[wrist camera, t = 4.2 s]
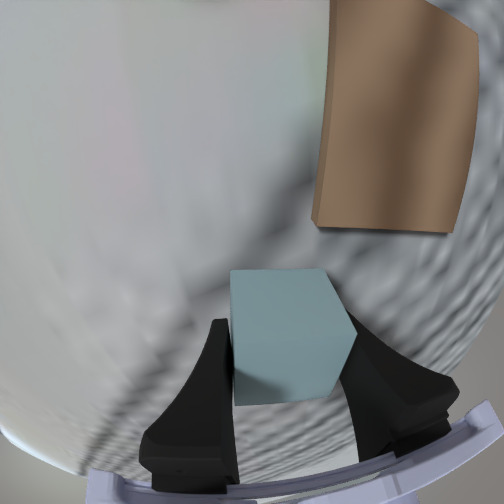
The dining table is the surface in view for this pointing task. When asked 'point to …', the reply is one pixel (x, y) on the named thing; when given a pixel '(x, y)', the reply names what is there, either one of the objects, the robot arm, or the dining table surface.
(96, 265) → the dining table surface
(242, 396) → the teal cube
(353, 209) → the walnut board
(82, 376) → the dining table surface
